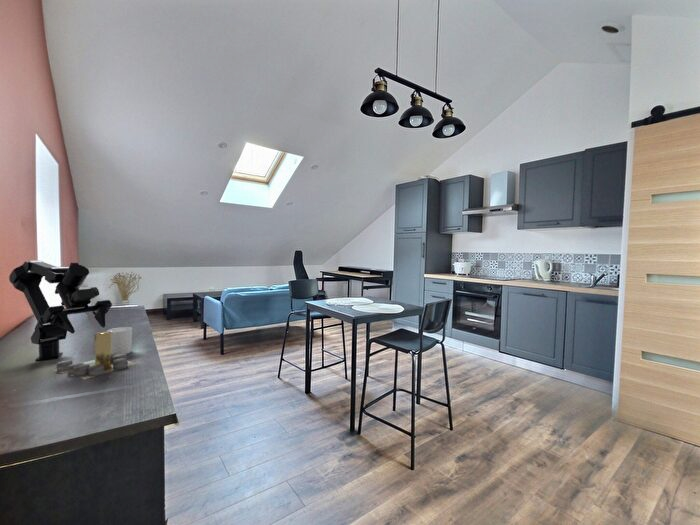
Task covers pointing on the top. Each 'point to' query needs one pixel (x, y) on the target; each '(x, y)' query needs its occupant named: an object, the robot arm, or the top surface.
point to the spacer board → (92, 367)
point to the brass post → (103, 349)
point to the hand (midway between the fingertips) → (89, 329)
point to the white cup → (121, 340)
